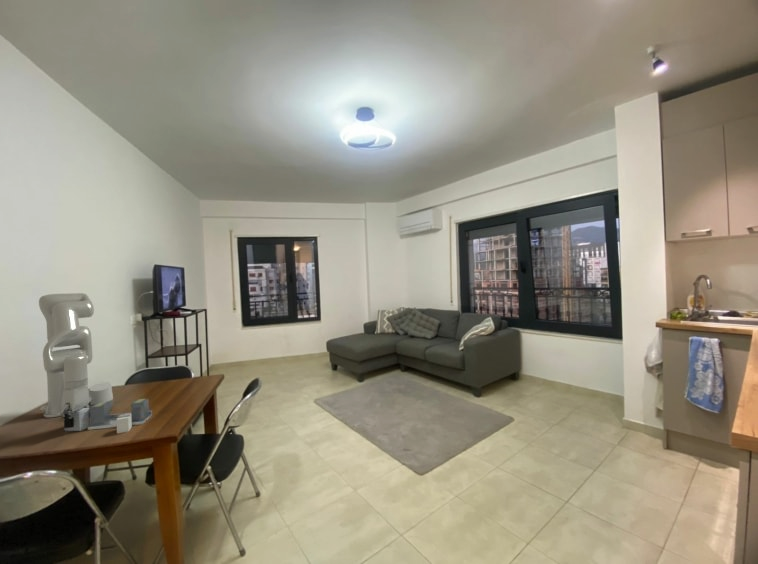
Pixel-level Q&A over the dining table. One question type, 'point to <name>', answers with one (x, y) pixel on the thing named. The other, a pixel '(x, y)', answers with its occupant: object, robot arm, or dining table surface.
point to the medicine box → (80, 420)
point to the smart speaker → (101, 394)
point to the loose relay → (124, 423)
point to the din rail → (105, 420)
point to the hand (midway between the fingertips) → (77, 422)
